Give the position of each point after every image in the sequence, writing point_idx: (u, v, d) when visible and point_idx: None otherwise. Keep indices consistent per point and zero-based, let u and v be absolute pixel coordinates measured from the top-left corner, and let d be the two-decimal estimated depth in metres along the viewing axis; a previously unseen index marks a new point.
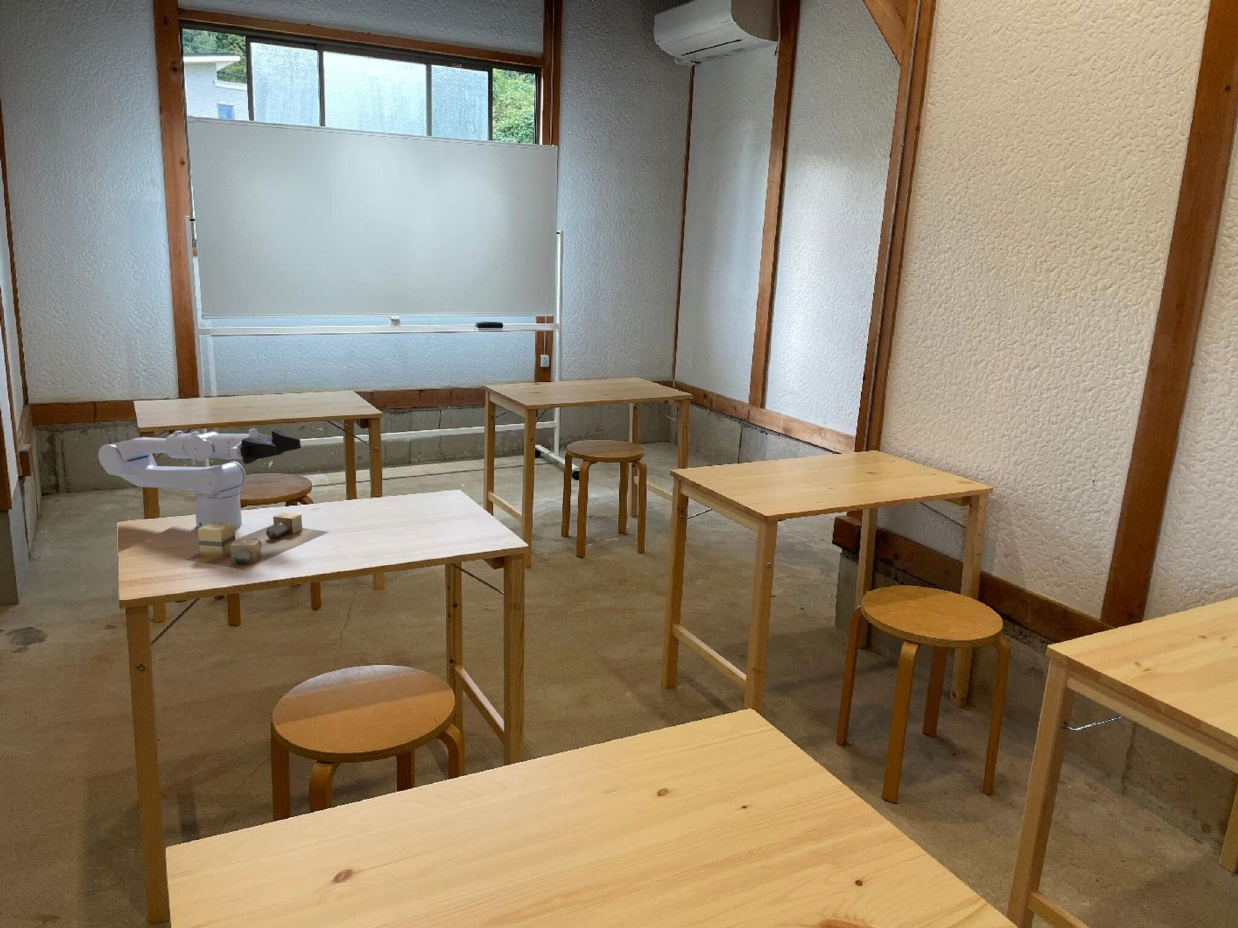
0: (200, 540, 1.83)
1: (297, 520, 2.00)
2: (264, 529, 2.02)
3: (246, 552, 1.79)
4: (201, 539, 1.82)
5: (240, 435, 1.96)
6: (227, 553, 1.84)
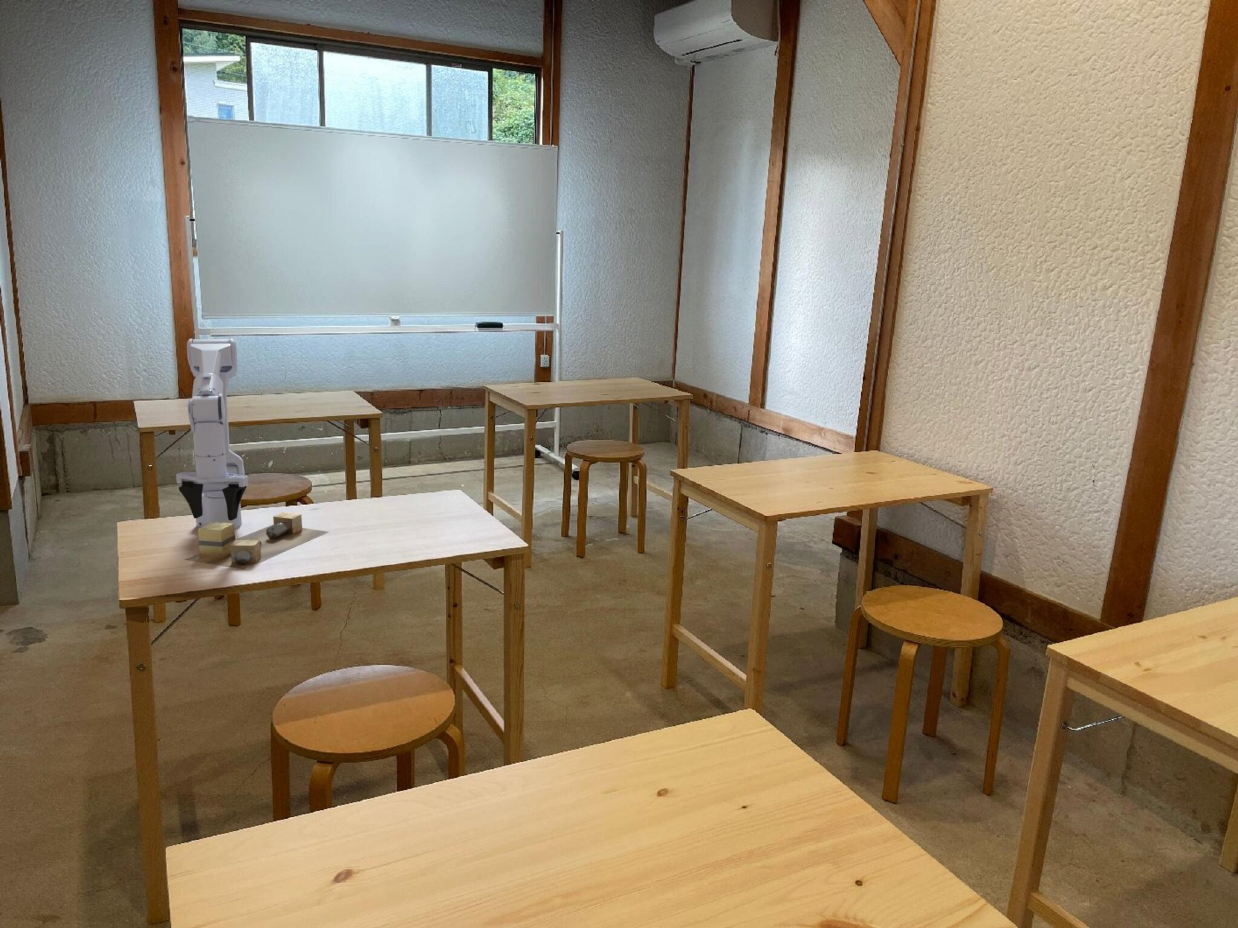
0: (200, 540, 1.83)
1: (297, 520, 2.00)
2: (264, 529, 2.02)
3: (246, 552, 1.79)
4: (201, 539, 1.82)
5: (199, 466, 1.79)
6: (227, 553, 1.84)
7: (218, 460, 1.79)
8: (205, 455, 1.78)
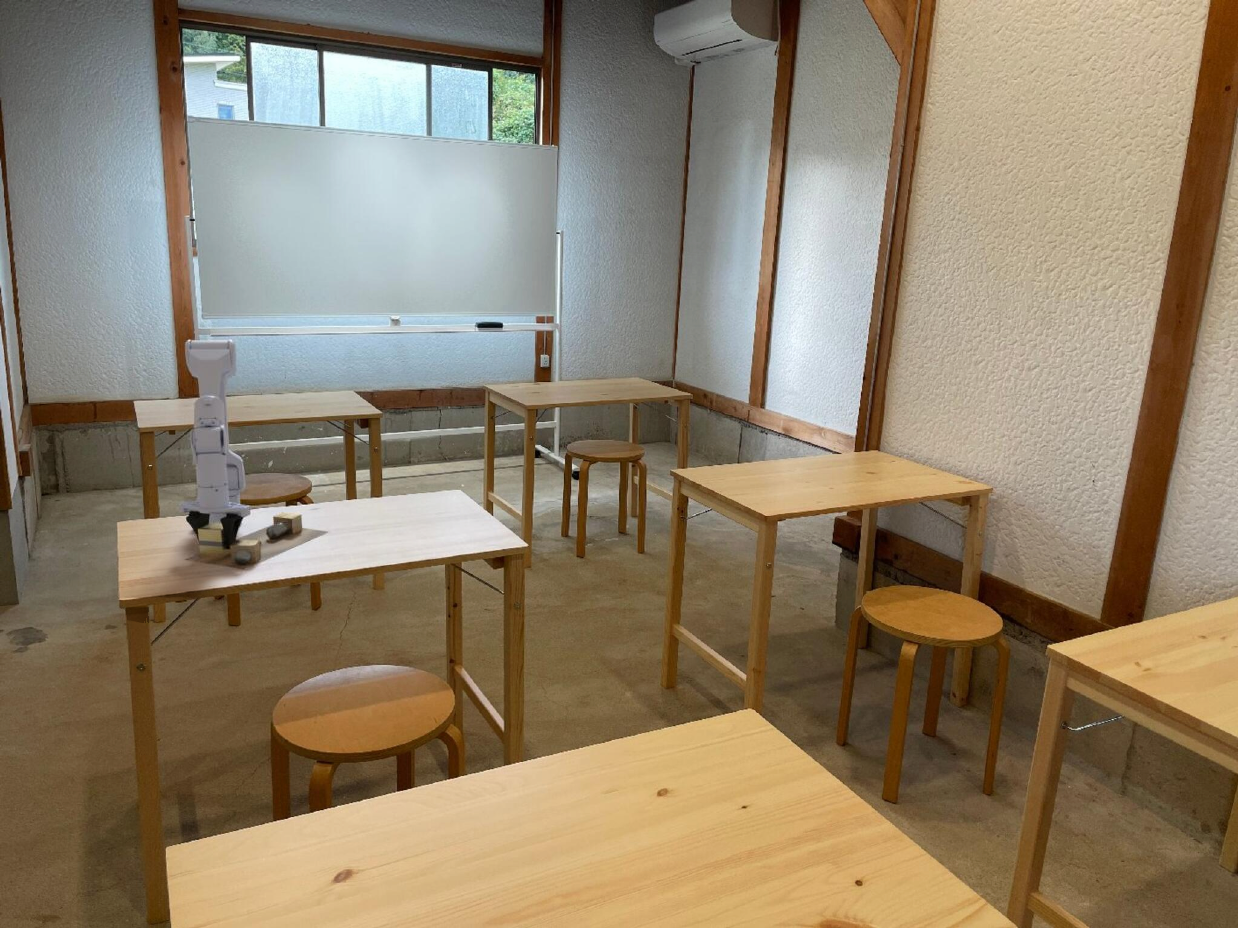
0: (200, 540, 1.83)
1: (297, 520, 2.00)
2: (264, 529, 2.02)
3: (246, 552, 1.79)
4: (201, 539, 1.82)
5: (201, 496, 1.80)
6: (227, 553, 1.84)
7: (221, 491, 1.81)
8: (208, 486, 1.79)
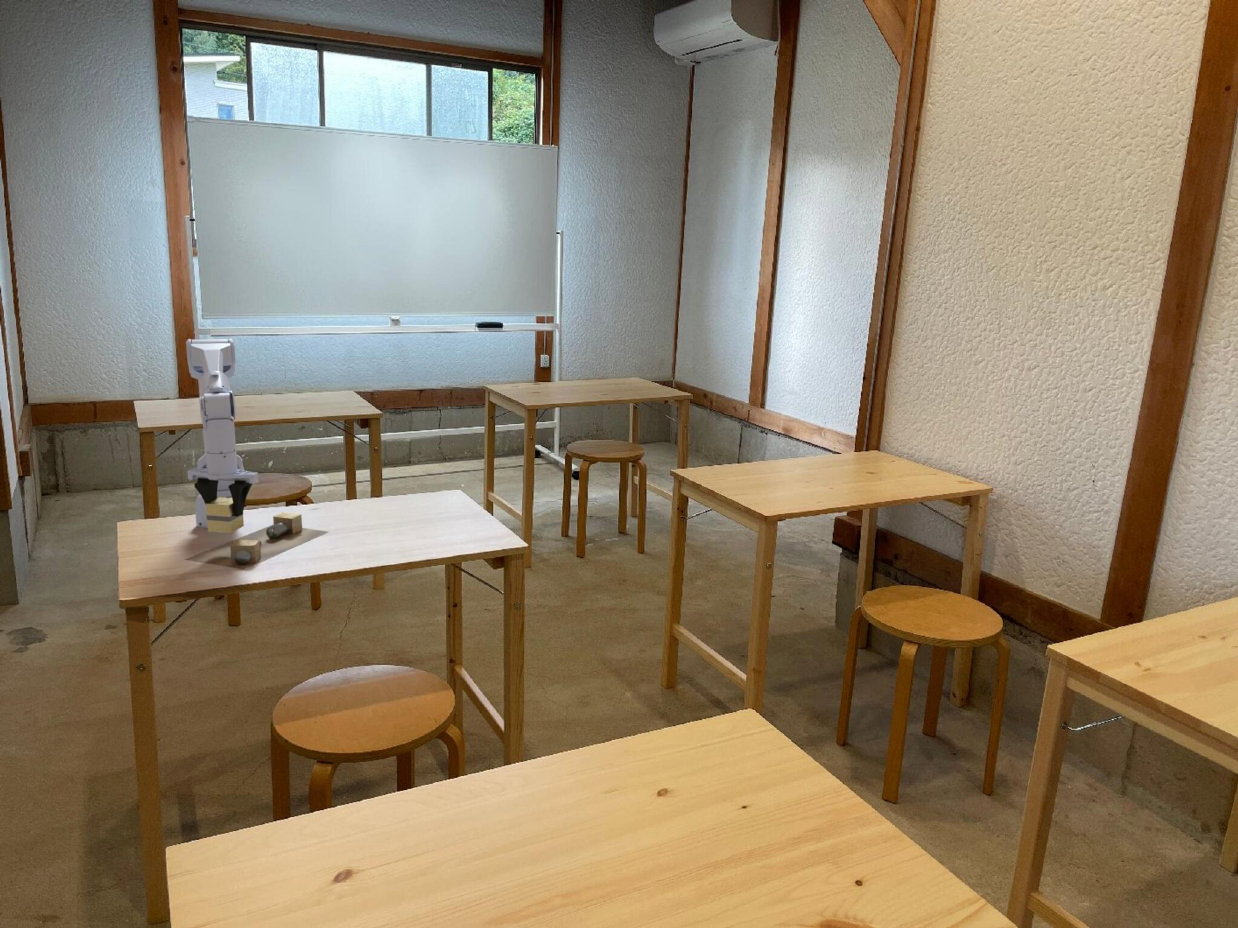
0: (208, 515, 1.83)
1: (297, 520, 2.00)
2: (264, 529, 2.02)
3: (246, 552, 1.79)
4: (209, 514, 1.83)
5: (210, 462, 1.80)
6: (235, 528, 1.85)
7: (229, 457, 1.81)
8: (218, 452, 1.79)
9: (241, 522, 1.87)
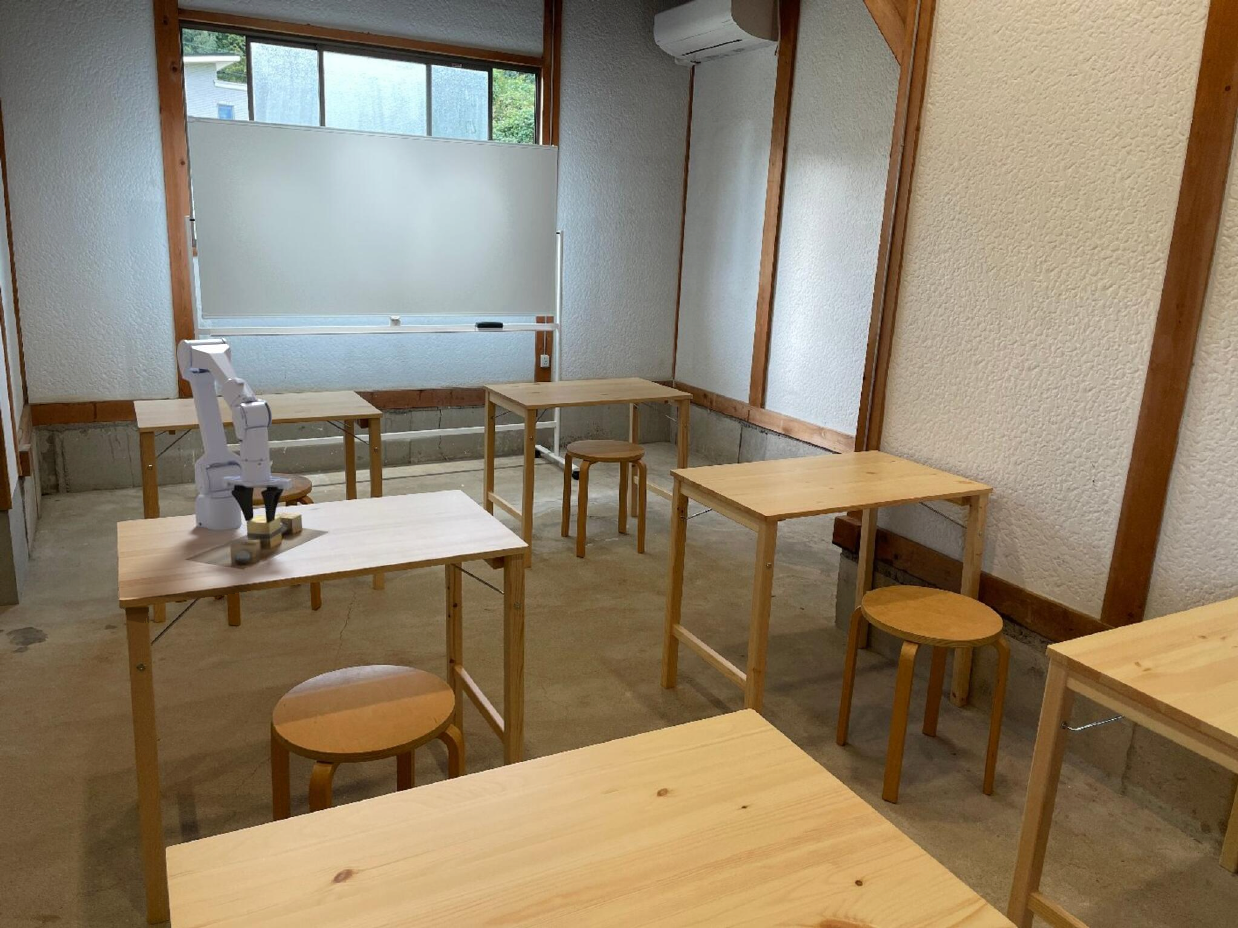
0: (248, 532, 1.88)
1: (297, 520, 2.00)
2: None
3: (246, 552, 1.79)
4: (249, 531, 1.88)
5: (245, 470, 1.85)
6: (274, 545, 1.90)
7: (263, 464, 1.86)
8: (257, 459, 1.85)
9: (279, 539, 1.92)
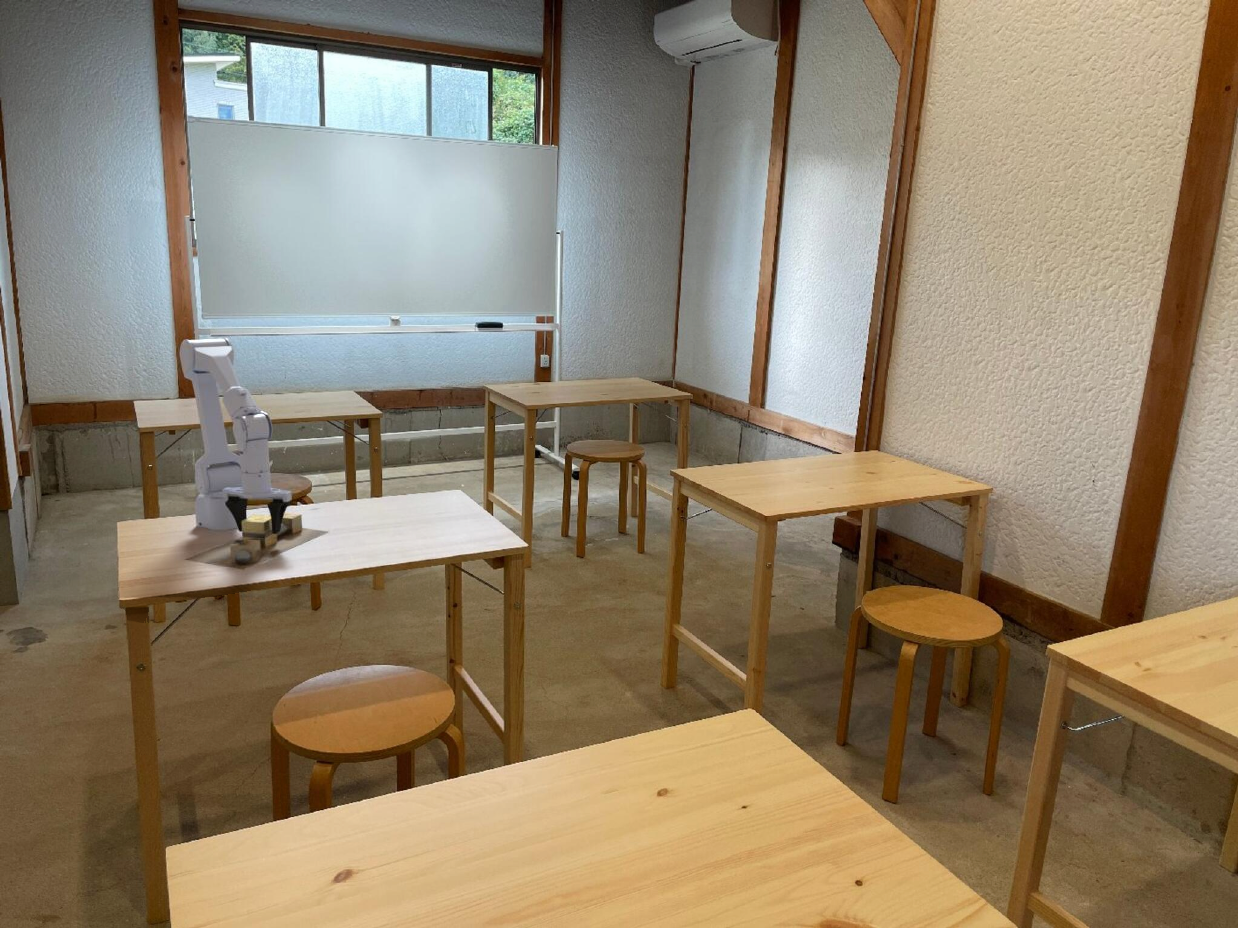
0: (243, 532, 1.88)
1: (297, 520, 2.00)
2: None
3: (246, 552, 1.79)
4: (244, 531, 1.88)
5: (245, 482, 1.86)
6: (269, 545, 1.90)
7: (264, 476, 1.87)
8: (258, 471, 1.85)
9: (275, 538, 1.93)
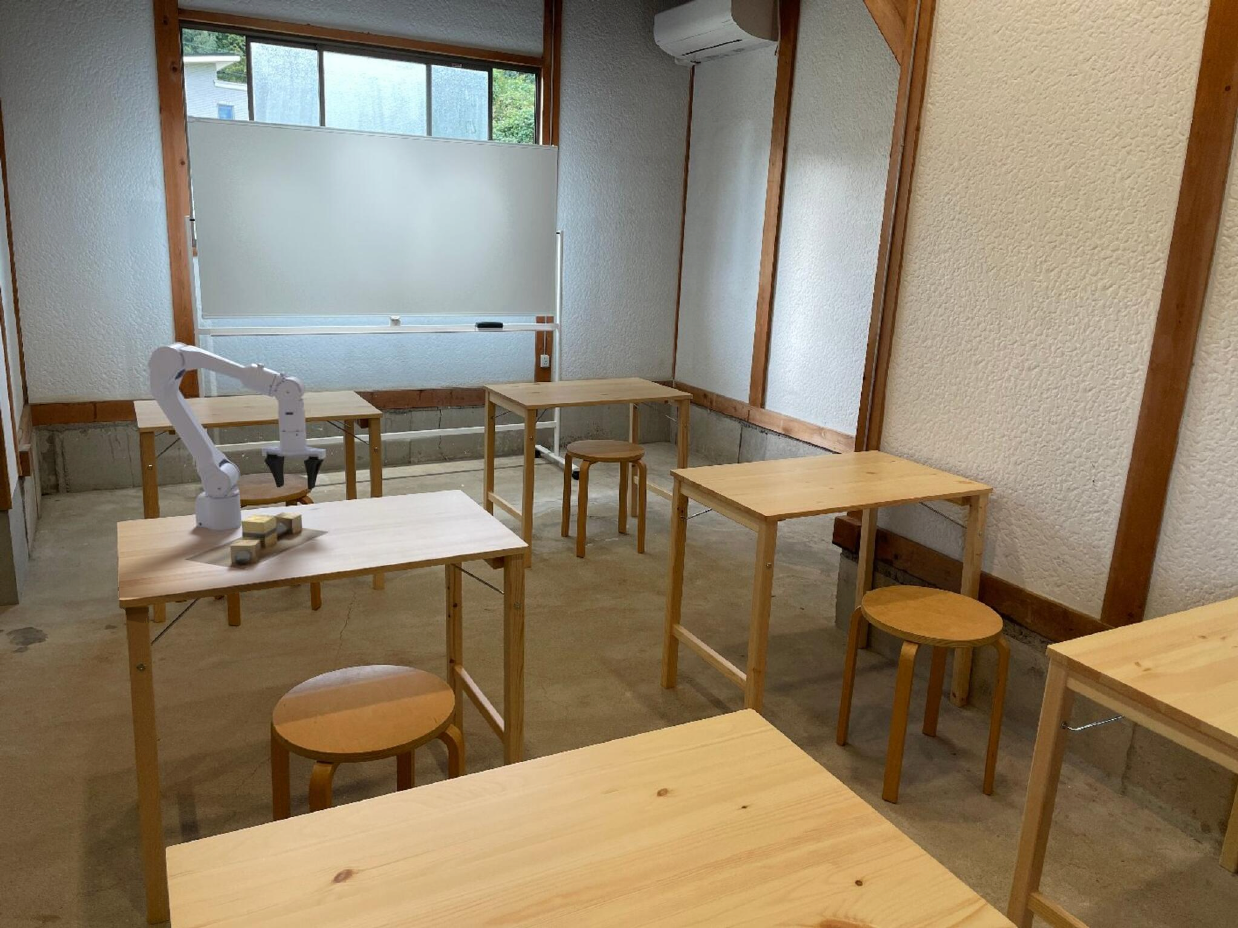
0: (243, 532, 1.88)
1: (297, 520, 2.00)
2: None
3: (246, 552, 1.79)
4: (244, 531, 1.88)
5: (283, 440, 2.00)
6: (269, 545, 1.90)
7: (300, 435, 2.01)
8: (304, 428, 2.02)
9: (275, 538, 1.93)
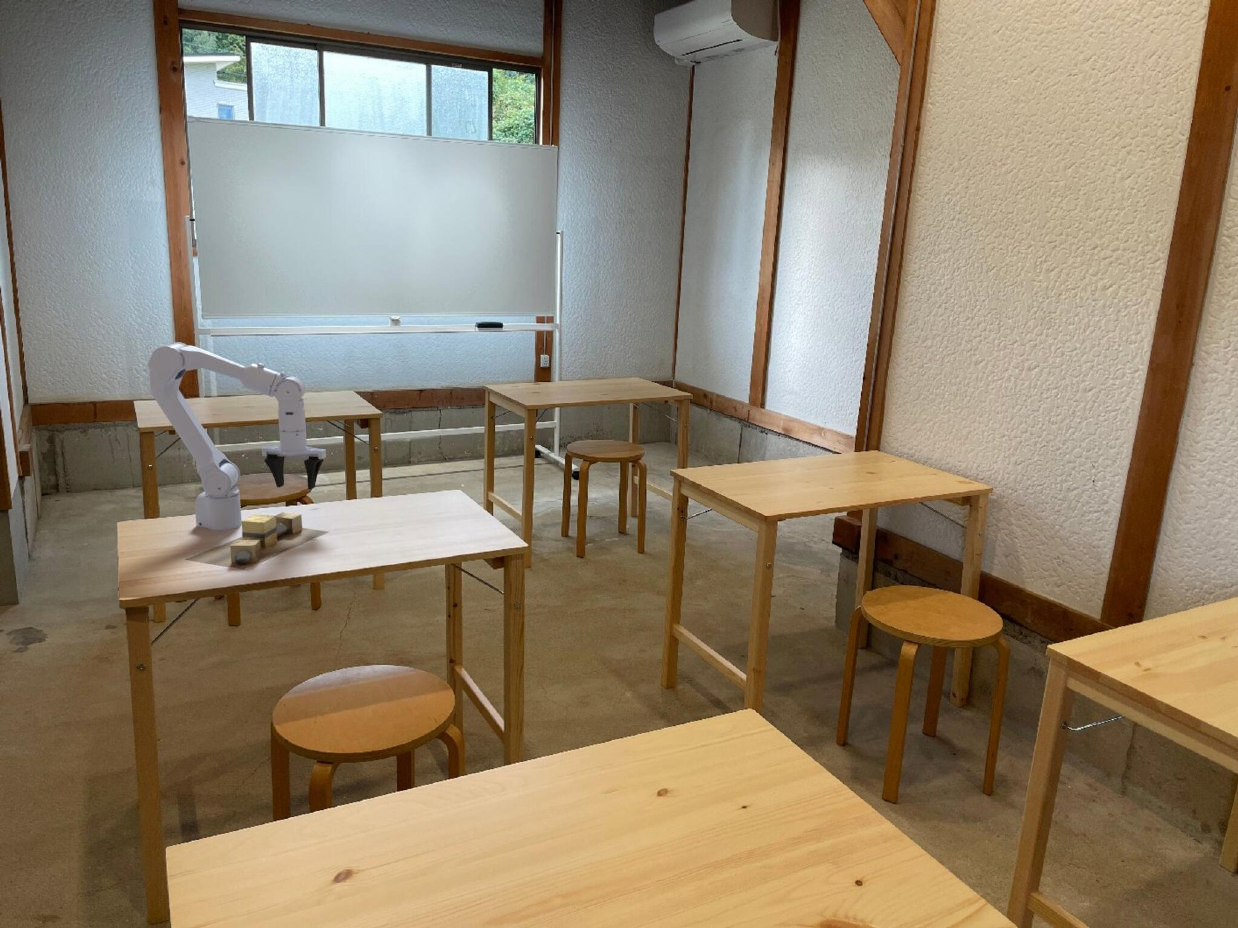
0: (243, 532, 1.88)
1: (297, 520, 2.00)
2: None
3: (246, 552, 1.79)
4: (244, 531, 1.88)
5: (283, 440, 2.00)
6: (269, 545, 1.90)
7: (300, 435, 2.01)
8: (304, 428, 2.02)
9: (275, 538, 1.93)
